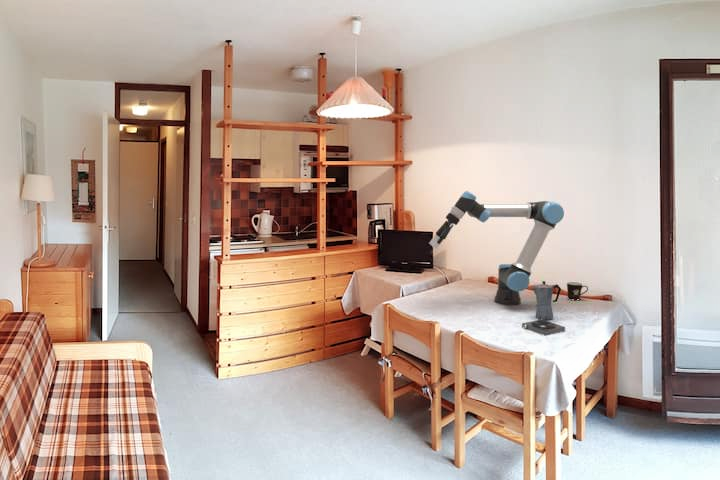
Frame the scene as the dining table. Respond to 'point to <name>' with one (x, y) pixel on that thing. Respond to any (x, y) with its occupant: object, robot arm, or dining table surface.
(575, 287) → the coffee mug
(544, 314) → the moka pot
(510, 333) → the dining table surface
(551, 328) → the hot plate
